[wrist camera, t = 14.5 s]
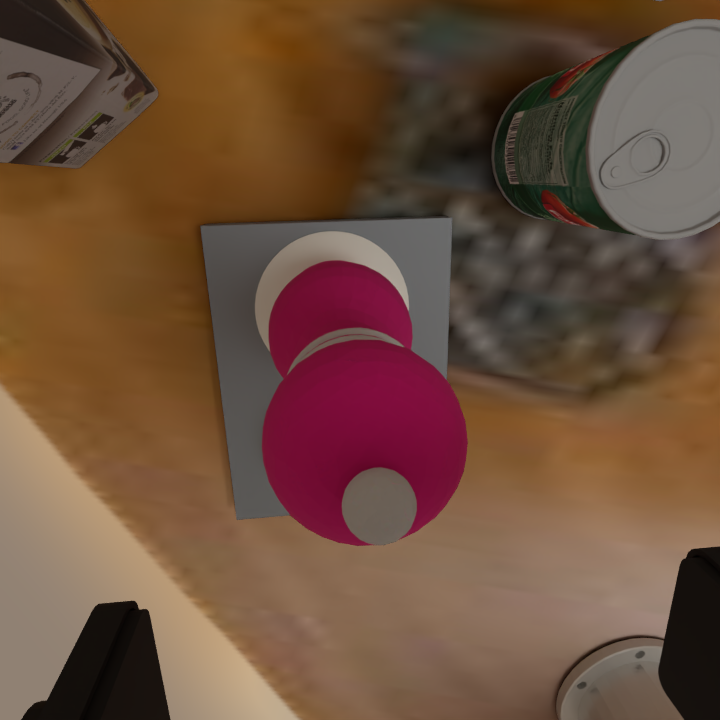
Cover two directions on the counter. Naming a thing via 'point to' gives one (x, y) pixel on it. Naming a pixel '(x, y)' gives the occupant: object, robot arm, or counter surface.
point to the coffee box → (63, 83)
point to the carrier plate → (262, 287)
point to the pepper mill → (357, 411)
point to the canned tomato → (621, 138)
